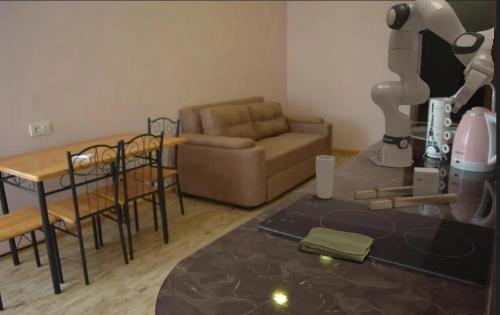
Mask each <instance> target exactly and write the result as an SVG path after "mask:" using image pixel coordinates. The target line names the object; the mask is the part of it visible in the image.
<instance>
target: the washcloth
mask: <svg viewBox="0 0 500 315" xmlns="http://www.w3.org/2000/svg"><path fill="white" fill-rule="evenodd" d="M374 241H375V240H374V238H372V237H370V236H367V235H363V234H361V233H356V232H348V231H347V232H346V231H343V230H341V231H340V230H335V229H331V228H325V227H320V226H319V227H313V228H311V229H310V231H309V232H308V233H307V235H306V236H305V237H304V238H303V239H301V240H300V241H299V242H298V249H300V250H301V251H302V252H307V253H312V254H316V255H322V256H326V257H333V258H337V259H338V258H339V259H344V260H351V261H353V262H358V263H359V262H360V263H363V262H364V260H365V257H367V255H368V253H369V252H370V251H371V248H372V245H373V244H374Z"/></svg>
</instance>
